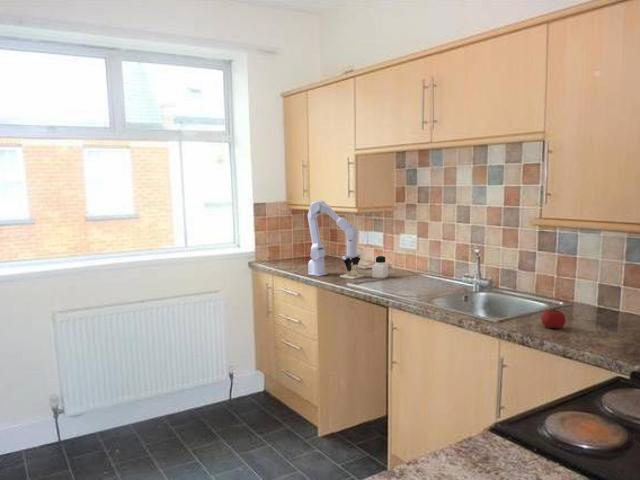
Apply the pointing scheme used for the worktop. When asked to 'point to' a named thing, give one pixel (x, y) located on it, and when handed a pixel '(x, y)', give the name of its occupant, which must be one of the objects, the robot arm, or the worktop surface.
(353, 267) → the beech block
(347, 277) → the tile
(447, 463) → the worktop surface
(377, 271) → the medicine bottle
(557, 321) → the tomato
